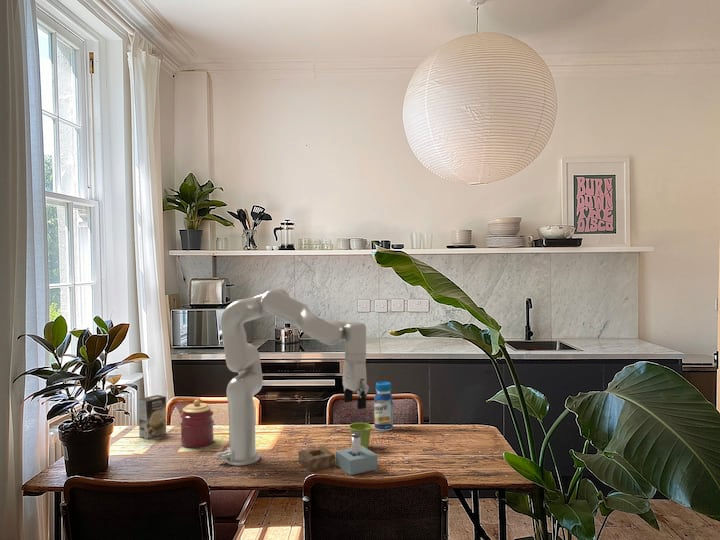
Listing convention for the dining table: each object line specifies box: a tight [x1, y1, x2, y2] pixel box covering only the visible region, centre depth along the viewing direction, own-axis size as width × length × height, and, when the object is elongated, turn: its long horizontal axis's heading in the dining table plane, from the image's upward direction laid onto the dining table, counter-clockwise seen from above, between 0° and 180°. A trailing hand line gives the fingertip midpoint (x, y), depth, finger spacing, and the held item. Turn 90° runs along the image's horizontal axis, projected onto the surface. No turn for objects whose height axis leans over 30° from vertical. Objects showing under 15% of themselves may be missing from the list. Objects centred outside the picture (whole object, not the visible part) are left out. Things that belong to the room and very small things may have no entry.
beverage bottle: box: [373, 381, 394, 432], centre depth 238 cm, size 8×8×20 cm
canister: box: [179, 399, 215, 449], centre depth 222 cm, size 13×13×18 cm
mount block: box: [298, 446, 336, 472], centre depth 198 cm, size 10×10×4 cm
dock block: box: [335, 446, 379, 476], centre depth 195 cm, size 11×11×5 cm
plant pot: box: [348, 422, 373, 450], centre depth 214 cm, size 9×9×9 cm
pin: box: [351, 432, 361, 456], centre depth 195 cm, size 3×3×12 cm
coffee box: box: [138, 394, 167, 440], centre depth 232 cm, size 9×6×16 cm
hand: (354, 405), depth 194 cm, fingers open, 9 cm apart
